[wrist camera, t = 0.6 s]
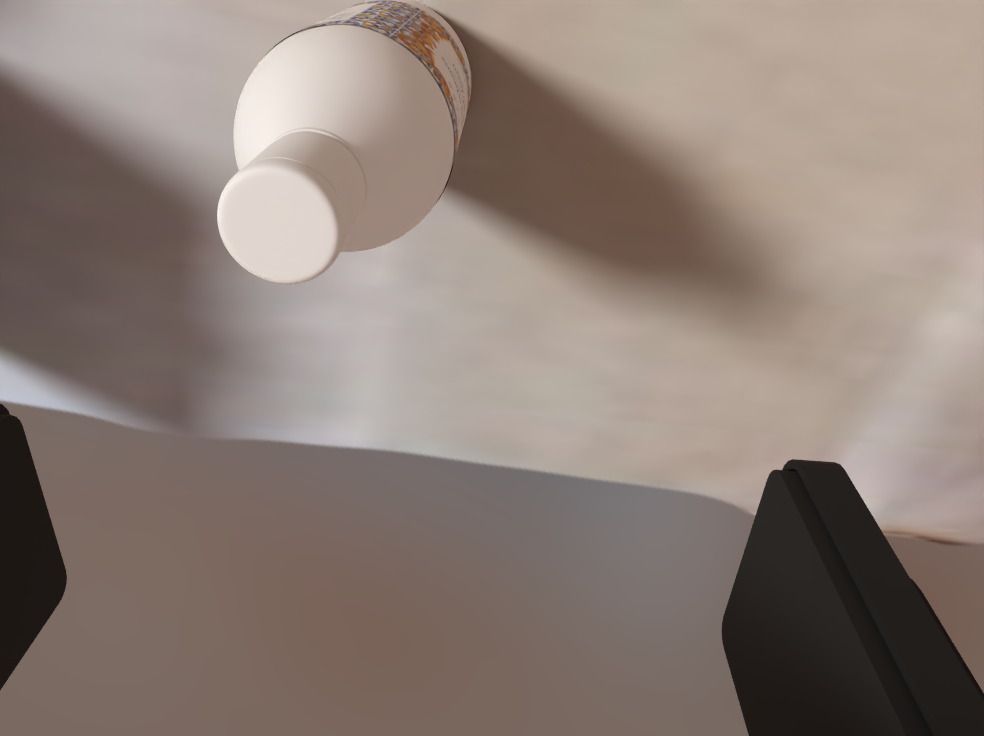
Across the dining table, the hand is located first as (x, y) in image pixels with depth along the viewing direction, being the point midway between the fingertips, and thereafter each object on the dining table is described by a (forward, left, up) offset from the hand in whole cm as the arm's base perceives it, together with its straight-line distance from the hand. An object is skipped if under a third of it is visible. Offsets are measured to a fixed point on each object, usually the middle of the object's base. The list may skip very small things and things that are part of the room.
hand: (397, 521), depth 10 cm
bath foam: (0, -4, -29) cm, 30 cm away
